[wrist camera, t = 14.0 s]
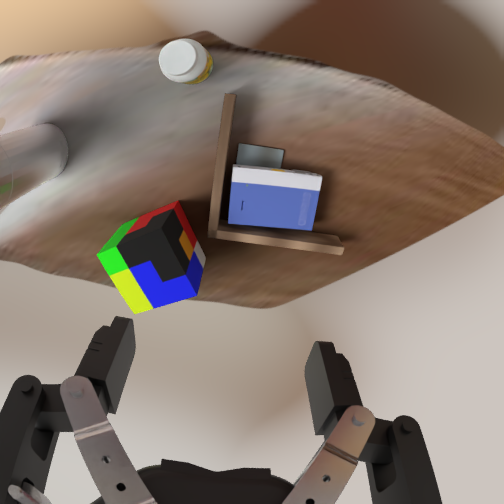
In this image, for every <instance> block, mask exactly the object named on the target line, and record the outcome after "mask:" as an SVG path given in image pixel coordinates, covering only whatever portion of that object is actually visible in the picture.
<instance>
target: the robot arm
mask: <svg viewBox="0 0 504 504" xmlns="http://www.w3.org/2000/svg"><path fill="white" fill-rule="evenodd" d="M67 159H68V144H67V140H66V138H65V135H64V134H63V132H62V131H61V130H60V129H59V128H58V127H57V126H55V125H53V124H49V123H45V124H40V125H36V126H32V127H28V128H24V129H21V130H17V131H14V132H10V133H7V134H3V135H0V209H2V208H3V207H5V206H7V205H8V204H10V203H11V202H13V201H15V200H16V199H18V198H20V197H21V196H23V195H25V194H26V193H28V192H30V191H31V190H33V189H35V188H37V187H38V186H40V185H42V184H44V183H46V182H47V181H49V180H51V179H53V178H55V177H57V176H58V175H59V174H60V173H61V172H62V171H63V169H64V168H65V166H66V163H67ZM135 345H136V344H135V335H134V325H133V320H132V319H129V318H124V317H118V316H116V317H115V318H114V320H113V322H112V324H111V326H110V327H109V326H102V327H101V328H100V329H99V330H98V331H96V332H95V334H94V336H93V338H92V340H91V343H90V344H89V346H88V349H87V350H86V353H85V354H84V356H83V358H82V360H81V363H80V365H79V367H78V369H77V371H76V373H75V375H74V376H72V377H69V378H67V379H66V380H64V381H63V383H62V384H41V382H40V381H39V379H38V378H36V377H35V376H31V375H24V376H21V377H19V378H18V379H17V380H16V381H15V382H14V384H13V386H12V388H11V390H10V392H9V394H8V397H7V399H6V401H5V403H4V406H3V408H2V410H1V412H0V504H51V502H50V501H49V499H48V498H47V497H46V496H45V495H43V494H44V490H45V485H46V481H47V476H48V473H49V469H50V465H51V461H52V457H53V454H54V450H55V446H56V443H57V440H58V436H59V433H60V432H74V434H75V435H74V437H75V440H76V442H77V445H78V447H79V449H80V452H81V454H82V456H83V459H84V461H85V463H86V465H87V467H88V469H89V471H90V474H91V476H92V478H93V480H94V482H95V484H96V486H97V488H98V490H99V492H100V494H101V497H99V498H98V499H97V500H95V501H94V502H92V503H91V504H335V502H336V501H337V499H338V497H339V496H340V494H341V492H342V491H343V489H344V487H345V485H346V484H347V482H348V481H349V479H350V477H351V475H352V473H353V472H354V470H355V468H356V466H357V464H358V461H363V462H366V467H367V473H368V479H369V485H370V491H371V497H372V502H373V504H442V501H441V497H440V493H439V489H438V485H437V482H436V478H435V475H434V471H433V468H432V465H431V461H430V457H429V454H428V451H427V448H426V444H425V441H424V438H423V435H422V432H421V429H420V426H419V424H418V422H417V421H416V420H415V419H413V418H412V417H410V416H405V415H402V416H399V417H397V418H396V419H395V420H394V421H388V420H383V419H378V418H375V417H374V415H373V414H372V412H371V411H370V410H369V409H367V408H365V407H363V405H362V401H361V398H360V395H359V392H358V389H357V385H356V382H355V380H354V376H353V373H352V370H351V367H350V364H349V362H348V360H347V359H346V358H345V357H344V356H343V354H340V353H336V351H335V347H334V344H333V343H332V342H323V341H316V342H315V343H314V345H313V347H312V350H311V352H310V355H309V357H308V360H307V362H306V366H305V380H306V386H307V391H308V396H309V402H310V407H311V413H312V418H313V424H314V430H315V435H324V438H325V441H324V442H323V444H322V445H321V447H320V448H319V450H318V451H317V452H316V454H315V455H314V457H313V458H312V460H311V461H310V462H309V464H308V465H307V467H306V468H305V469H304V471H303V472H302V474H301V475H300V476H299V477H298V479H297V480H296V481H295V483H294V484H291V483H290V482H288V481H286V480H285V479H282V478H280V477H277V476H274V475H271V470H270V468H265V469H264V468H240V469H233V470H227V471H220V472H215V471H211V470H208V469H205V468H202V467H199V466H196V465H193V464H190V463H186V462H179V461H173V460H166V459H162V461H161V465H153V466H148V467H145V468H142V469H140V470H137V471H136V470H135V468H134V466H133V465H132V463H131V461H130V459H129V458H128V456H127V454H126V452H125V450H124V449H123V447H122V445H121V443H120V441H119V439H118V437H117V435H116V434H115V431H114V430H113V427H112V426H111V424H110V423H109V421H108V419H107V414H108V413H112V414H116V411H117V408H118V404H119V401H120V398H121V394H122V392H123V388H124V385H125V382H126V379H127V376H128V373H129V370H130V367H131V364H132V361H133V358H134V354H135V348H136V346H135ZM357 460H358V461H357Z"/></svg>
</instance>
